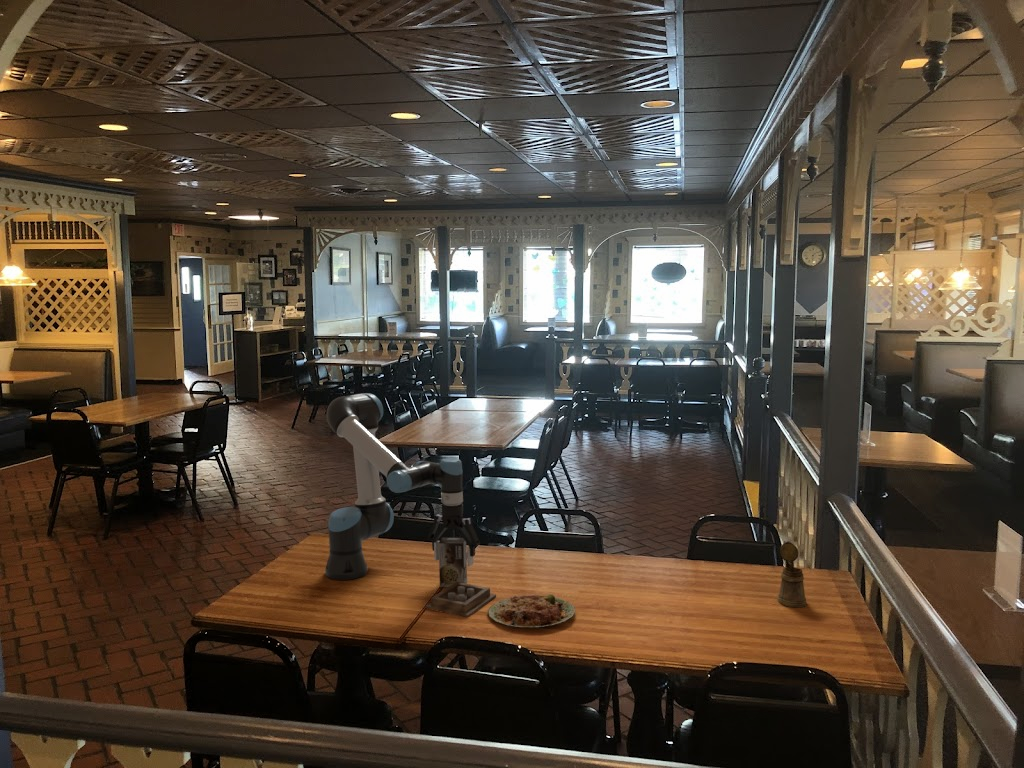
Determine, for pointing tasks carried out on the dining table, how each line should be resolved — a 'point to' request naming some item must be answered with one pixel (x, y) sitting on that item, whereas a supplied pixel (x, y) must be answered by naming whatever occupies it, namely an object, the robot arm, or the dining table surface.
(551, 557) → the dining table surface
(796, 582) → the disc topped pedestal
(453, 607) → the peg stand
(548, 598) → the rice dish
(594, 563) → the dining table surface
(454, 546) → the coffee box
